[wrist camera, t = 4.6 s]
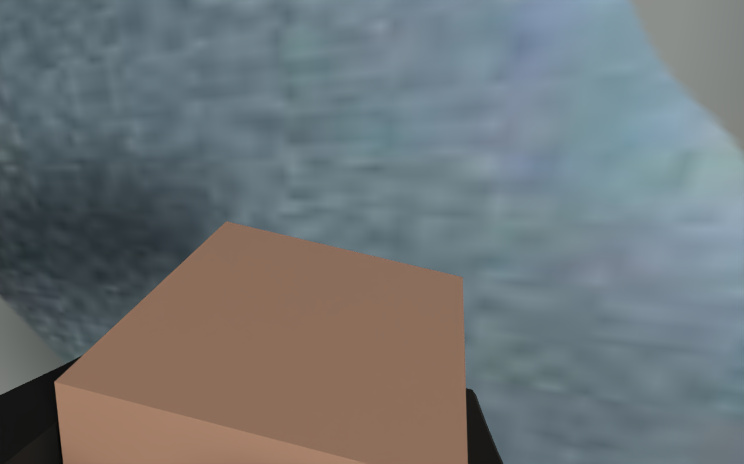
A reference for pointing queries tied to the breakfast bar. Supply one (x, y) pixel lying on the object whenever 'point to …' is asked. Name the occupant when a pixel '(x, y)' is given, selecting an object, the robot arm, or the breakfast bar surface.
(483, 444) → the robot arm
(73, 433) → the terracotta cube
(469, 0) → the breakfast bar surface
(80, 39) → the breakfast bar surface
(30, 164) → the breakfast bar surface
